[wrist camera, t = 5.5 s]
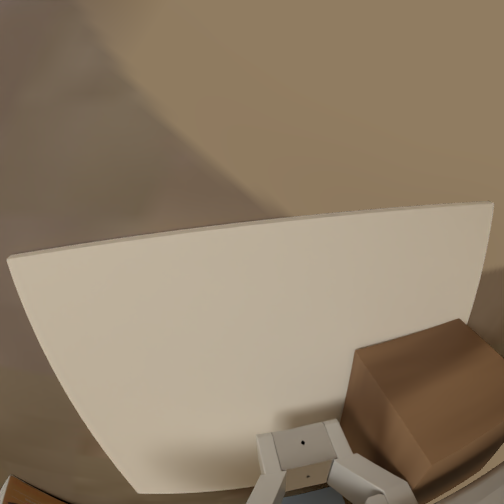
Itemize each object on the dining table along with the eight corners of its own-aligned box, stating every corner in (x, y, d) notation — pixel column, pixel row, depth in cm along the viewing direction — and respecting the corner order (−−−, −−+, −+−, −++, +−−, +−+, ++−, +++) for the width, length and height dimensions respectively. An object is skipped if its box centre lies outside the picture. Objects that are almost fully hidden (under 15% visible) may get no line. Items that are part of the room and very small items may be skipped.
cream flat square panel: (10, 255, 8) (6, 259, 7) (489, 201, 9) (494, 203, 9) (138, 489, 13) (138, 493, 13) (414, 437, 15) (417, 440, 15)
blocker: (354, 350, 10) (431, 465, 6) (458, 317, 11) (538, 392, 6) (337, 432, 12) (381, 524, 8) (427, 399, 13) (480, 470, 8)
